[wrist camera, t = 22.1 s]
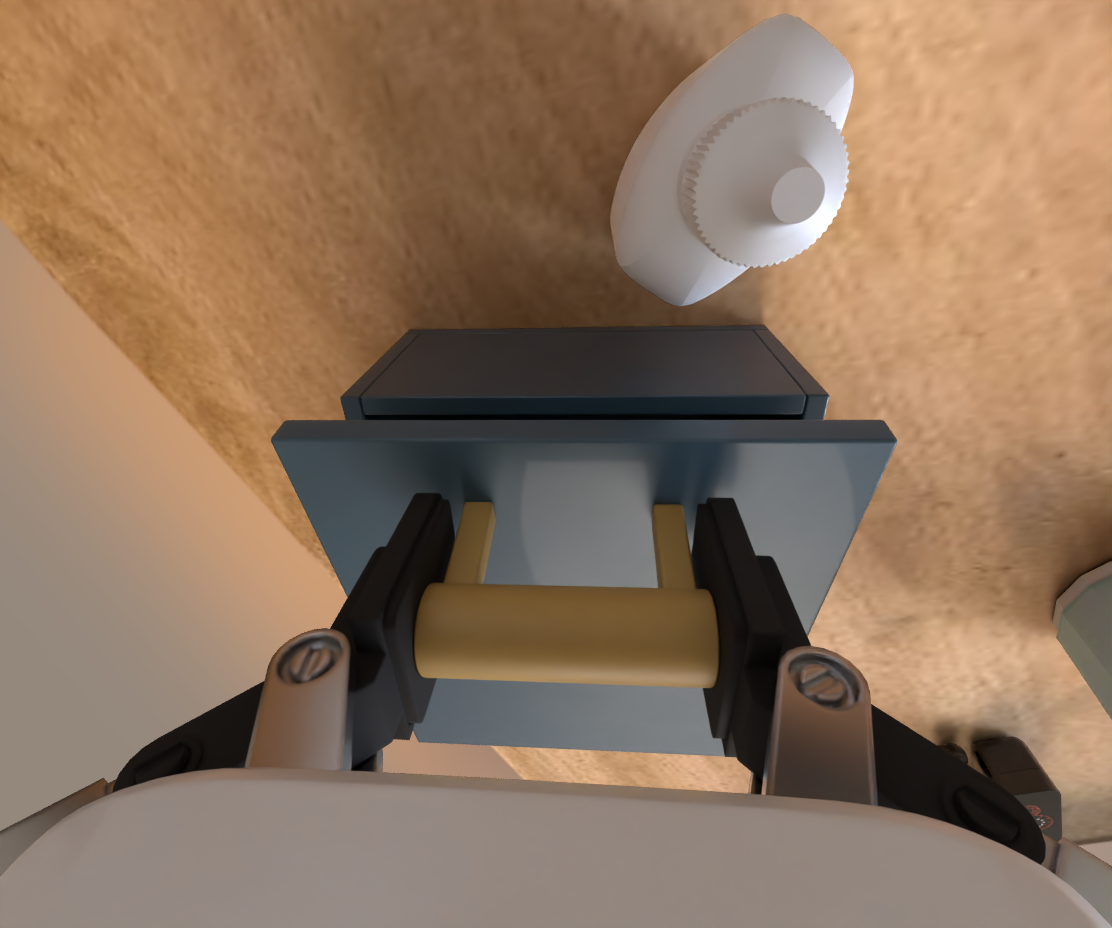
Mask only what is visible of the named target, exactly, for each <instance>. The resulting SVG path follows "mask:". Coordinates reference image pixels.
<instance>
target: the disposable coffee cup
mask: <svg viewBox="0 0 1112 928" xmlns="http://www.w3.org/2000/svg"><path fill="white" fill-rule="evenodd" d="M1052 623H1053V625H1054V626H1055V628H1056V629H1057V631H1058V633H1057V639H1058V641H1059V642H1060V644H1061V645H1062V647H1063V648H1064V649H1065V651H1066V652H1067V654H1068V655H1069V657H1070V658H1071V660H1072V661H1073V663H1074V664H1075V666H1076V667H1077V669H1078V670H1079V672H1080V673H1081V675H1082V676H1083V678H1084V679H1085V681H1086V682H1087V684H1088V685H1089V687H1090V688H1091V690H1092V691H1093V693H1094V694H1095V695H1096V697H1097V698H1098V700H1099V701H1100V703H1101V704H1102V706H1103V707H1104V709H1105V710H1106V712H1107V713H1108V715H1109V716H1110V718H1111V719H1112V561H1110V562H1108V563H1106V564H1104V565H1102V566H1100V567H1098V568H1096V569H1094V570H1092V571H1090V572H1088V573H1086V574H1084V575H1082V576H1080V577H1079V578H1078V579H1077V580H1076V581H1075V582H1074V583H1073V584H1072V585H1071V586H1070V587H1069V588H1068V589H1067V590H1066V591H1065V592H1064V593H1063V594H1062V595H1061V596H1060V597H1059V598H1058V599H1057V601H1056V606H1055V611H1054V617H1053V622H1052Z"/></svg>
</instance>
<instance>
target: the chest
mask: <svg viewBox="0 0 1112 928" xmlns="http://www.w3.org/2000/svg"><path fill="white" fill-rule="evenodd" d="M828 400H829V394H828V393H827V392H826V391H825V390H824V389H823V388H822V387H821V386H820V384H819V383H818V382H817V381H816V380H815V379H814V378H813V377H812V376H811V375H810V374H809V373H808V371H807V370H806V369H805V368H804V367H803V366H802V365H801V364H800V363H799V362H798V361H797V360H796V359H795V357H794V356H793V355H792V354H791V353H790V352H789V351H788V350H787V349H786V348H785V347H784V346H783V344H782V343H781V342H780V341H779V340H778V339H777V338H776V337H775V336H774V335H773V334H772V333H771V332H770V330H769V329H768V328H767V327H766V326H765V325H718V326H646V327H573V328H501V329H429V330H409V331H408V332H407V333H406V334H405V335H404V336H403V337H402V338H401V339H400V340H399V341H398V342H396V343H395V344H394V345H393V346H392V347H391V348H390V349H389V350H388V351H387V352H386V353H385V354H384V355H383V356H382V357H381V358H380V359H379V360H378V361H377V362H376V363H375V364H374V365H373V366H372V367H371V368H370V369H369V370H368V371H367V372H366V373H365V374H364V375H363V376H362V377H360V378H359V379H358V380H357V381H356V382H355V383H354V384H353V385H352V386H351V387H350V388H349V389H348V390H347V391H346V392H345V393H344V394H343V395H342V396H341V403H342V407H343V410H344V414H345V418H346V420H824V416H825V412H826V408H827V404H828Z"/></svg>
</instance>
